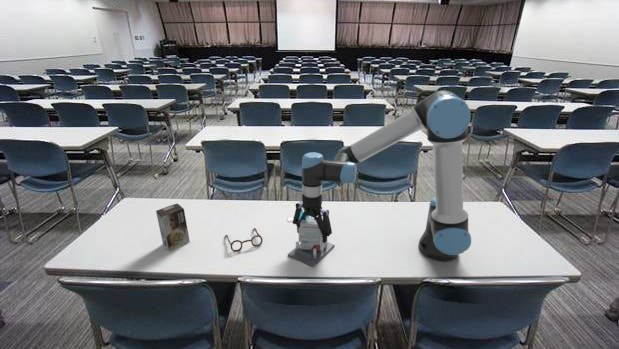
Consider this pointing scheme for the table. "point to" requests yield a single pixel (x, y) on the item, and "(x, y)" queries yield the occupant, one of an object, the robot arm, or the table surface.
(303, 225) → the ink box
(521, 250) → the table surface
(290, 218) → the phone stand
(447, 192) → the robot arm
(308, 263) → the cradle
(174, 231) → the coffee box
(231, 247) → the glasses
